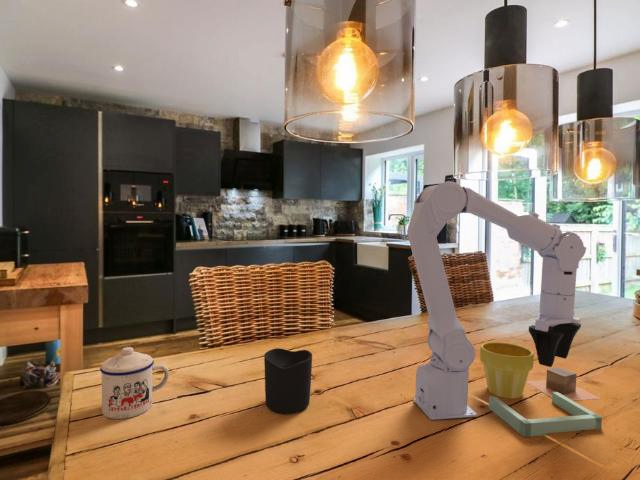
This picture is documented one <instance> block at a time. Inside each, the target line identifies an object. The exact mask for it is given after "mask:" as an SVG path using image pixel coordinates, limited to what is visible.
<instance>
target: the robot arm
mask: <svg viewBox="0 0 640 480" xmlns="http://www.w3.org/2000/svg"><path fill="white" fill-rule="evenodd" d="M459 214H471V215H473V216H476V217H478V218H480V219H483V220H485V221H487V222H490V223H491V224H494V225H496V226H499V227H501V228H503V229H505V230H506V232H507V235H508V238H509V239H510V240H513V241H515V242H517V243H519V244H521V245H523V246H525V247H527V248H529V249H531V250H532V251H535V252H537V254H538V255H539V257H541V258H542V263H541V264H542V267H541V268H542V269H541V282H540V296H539V297H540V298H539V312H537V318H535V325H534V324H532V325H529V326H528V332H529V334H530V336H531V338H532V340H533V343H534V347H535V351H536V354H537V360H538V363H539V365H541V366H544V367H549V368H552V367H553V365H554V362H555V360H556V359H555V358H557V357H558V358H561V359H565V360H566V359H567V358H568V355H569V352H570V351H571V350H570V349H571V347H572V346H571V345H572V343H573V340H574V338H575V337H576V335H577V333H578V331H579V330H580V329H581V327H582V326H581V325H582V324H581V321H582V320H581V318H580V317H575V300H576V299H575V298H576V286H577V284H576V283H577V271H578V269H579V267H580V266H579V264H580V262H581V259H582V258H583V257H585V254H586V252H587V247H586V246H585V245H584V242H583V239H581V237H580V236H579V235H578V234H577V233H575V232H572V231H562V230H561V226H560V225H558V224H556V223H555V224H554V223H552V224H551V223H548V222H547V221H545V220H543V219H541V218H539V217H540V215H539V214H538V213H537V212H534V211H531V212H526V211H525V212H520V213H518V214H516V213H514V212H512V211H510V210H509V209H507V208H505V207H504V206H501V205H500V204H498V203H496V202H494V201H492V200H491V199H489V198H487V197H485V196H483V195H482V194H480V193H478V192H476V191H475V190H473V189H472V188H470V187H466V186H462V185H460V184H459V183H457V182H454V181H443V182H442V183H439V184H436V185H429V186H427V187H425V188H424V189H423V190H422V191H421V192H420V193H419V194H418V195H417V197H416V199H414V201H413V210H412V213H411V217H410V221H409V224H408V227H407V229H406V230H407V232H406V233H407V237H408V242H409V246H410V248H411V253H412V257H413V259H414V264H415V268H416V272H417V275H418V280H419V284H420V288H421V290H422V295H423V298H424V302H425V306H426V310H427V313H428V321H427V327H428V328H427V329H428V334H427V341H426V342H427V345H428V347H429V349H430V350H431V351H432V354H431V356H430V360H429V362H427V363H425V364H421V365H418V366H417V368H416V373H415V397H413V401H414V403H415V404H416V405H417V406H418V407H419V408H420V409H421V411H422V412H423V413H424V414H425V416H427V417H428V419H430V420H431V421H434V420H435V421H436V420H449V419H460V418H461V419H462V418H475V417H477V414H478V413H477V412H475V411H474V410H473V409H472V408H471V407H470V406H469V405H468V401H469V398H468V395H469V376H470V375H469V373H470V367H471V366H472V365H473V363H474V361H475V359H476V348H475V346H474V344H473V343H472V342H471V341H470V340H469V339H468V337H467V334H466V331H465V328H464V327H463V324H462V323H461V321H460V320H459V317H458V316H457V312H456V308H455V304H454V301H453V296H452V293H451V289H450V284H449V279H448V277H447V273H446V269H445V265H444V260H443V257H442V254H441V249H440V245H439V242H438V239H437V238H438V235H439V234H440V232H441V231H442V230H443V228H444V227H445V225H446V224H447V223H448V222H449V221H451V220H452V219H453V218H455V217H457V216H458V215H459Z"/></svg>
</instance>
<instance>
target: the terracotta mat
mask: <svg viewBox="0 0 640 480" xmlns="http://www.w3.org/2000/svg"><path fill="white" fill-rule="evenodd" d="M526 383H527V384H528V385H530V386H532V387H533V388H534V389H537V390H538V391H539V392H542V393H543V394H545V395H547V397H549V398H551V399H552V392H556V391H554V390H551V389H549V388H547V387H546V379H538V380H526ZM526 383H525V384H526ZM560 394H561V393H560ZM562 395H563V394H562ZM564 396H565V397H567V398H569V399H571V400H572V401H574V402H575V401H587V400H588V401H589V400H600V399H601V398H600V397H599V396H596V395H594V394H593V393H590V392H588V391H586V390H585V389H583V388H581V387H579V386H577V385H576V392H573V393H569V394H565V395H564Z"/></svg>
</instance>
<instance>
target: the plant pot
mask: <svg viewBox="0 0 640 480" xmlns="http://www.w3.org/2000/svg"><path fill="white" fill-rule="evenodd" d="M479 349H480V350H479V351H480V352H479V359H480V360H479V361H480V362H481V364H483V369H484V370H483V371H484V375H485V380H486V385H487V389H488V392H490V393H491V394H493V395H494V396H498V397H500V398H504V399H505V398H506V399H512V400H513V399H520V398H521V397H522V396H523V393H524V390H525V386H526V381H528V380H527V379H528V376H529V373H530V372H531V371H532V370H533V368H534V361H535V360H534V359H535V358H534V357H535V353H534V352H533V350H531V349H530V348H528V347H525V346H523V345H519V344H516V343H510V342H505V341H504V342H503V341H486V342H484V343H481V345H480V348H479Z"/></svg>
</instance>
